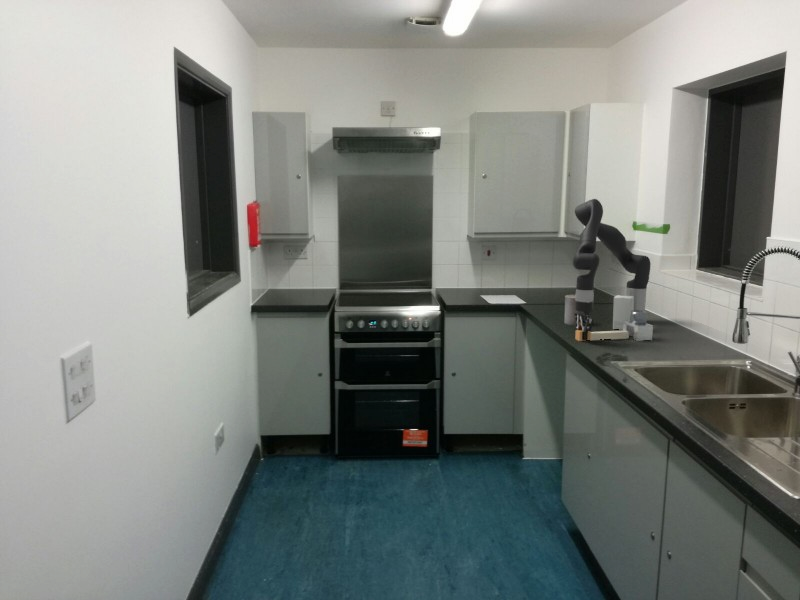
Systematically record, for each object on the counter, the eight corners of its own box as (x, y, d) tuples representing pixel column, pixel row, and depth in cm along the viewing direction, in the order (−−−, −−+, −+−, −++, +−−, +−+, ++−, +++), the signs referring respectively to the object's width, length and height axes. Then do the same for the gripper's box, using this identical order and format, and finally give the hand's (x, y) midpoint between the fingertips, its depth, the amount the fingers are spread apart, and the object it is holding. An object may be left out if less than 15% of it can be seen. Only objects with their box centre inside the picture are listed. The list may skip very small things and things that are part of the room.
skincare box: (632, 328, 281) (635, 296, 278) (630, 331, 275) (632, 298, 272) (614, 326, 285) (616, 294, 282) (611, 329, 279) (613, 296, 276)
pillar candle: (587, 323, 293) (588, 292, 291) (581, 326, 285) (582, 295, 283) (567, 321, 298) (568, 291, 296) (561, 324, 290) (562, 293, 288)
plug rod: (575, 339, 260) (575, 330, 260) (624, 336, 264) (624, 328, 263) (579, 341, 257) (579, 332, 256) (629, 338, 260) (629, 329, 259)
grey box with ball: (622, 334, 268) (624, 309, 266) (636, 334, 269) (638, 308, 267) (636, 341, 257) (638, 314, 255) (651, 340, 258) (654, 314, 256)
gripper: (568, 297, 262) (567, 335, 265) (583, 302, 248) (581, 343, 251) (584, 296, 263) (583, 334, 266) (600, 302, 249) (598, 342, 252)
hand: (582, 338), depth 259 cm, fingers closed on plug rod, 3 cm apart
